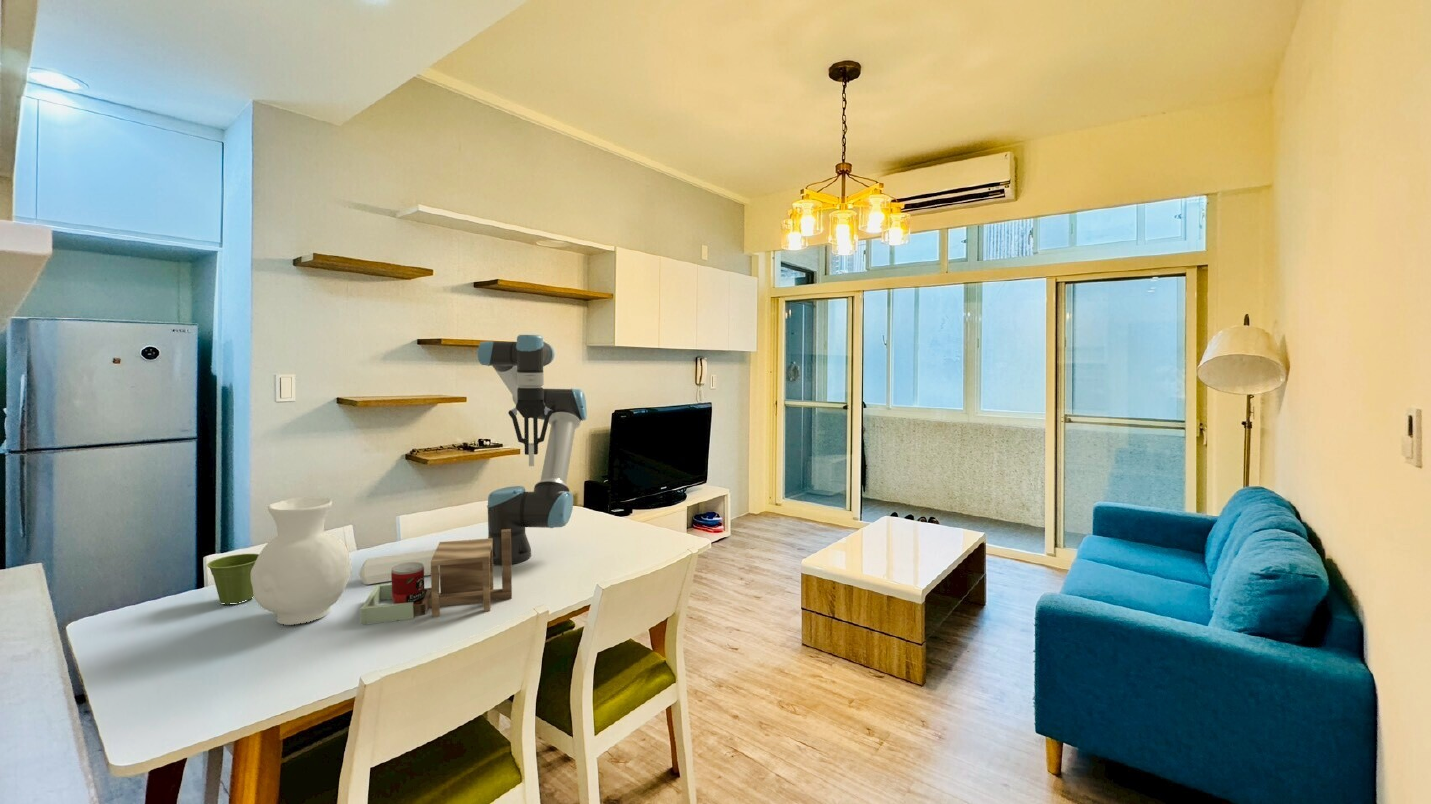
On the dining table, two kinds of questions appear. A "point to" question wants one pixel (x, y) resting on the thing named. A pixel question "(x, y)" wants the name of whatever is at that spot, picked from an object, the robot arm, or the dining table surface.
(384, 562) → the white faceted bar
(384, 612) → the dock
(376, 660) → the dining table surface
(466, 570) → the stool
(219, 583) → the plant pot
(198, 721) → the dining table surface
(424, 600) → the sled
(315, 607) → the vase
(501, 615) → the dining table surface
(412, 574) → the canned food
